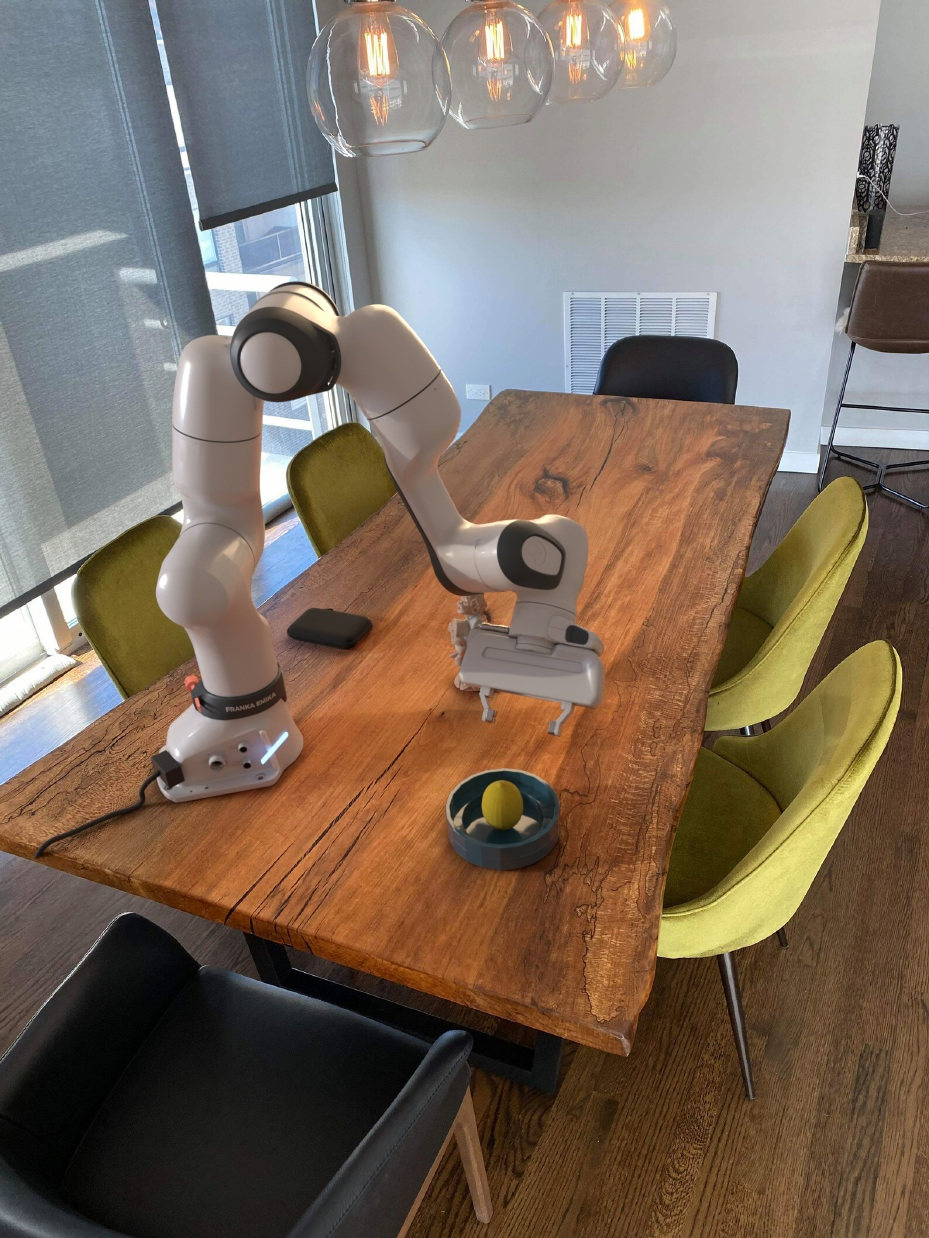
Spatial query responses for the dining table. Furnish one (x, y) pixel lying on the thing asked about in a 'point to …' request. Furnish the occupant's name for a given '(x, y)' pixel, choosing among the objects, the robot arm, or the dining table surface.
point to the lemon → (502, 805)
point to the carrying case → (330, 628)
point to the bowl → (503, 846)
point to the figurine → (465, 630)
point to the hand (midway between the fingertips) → (520, 728)
